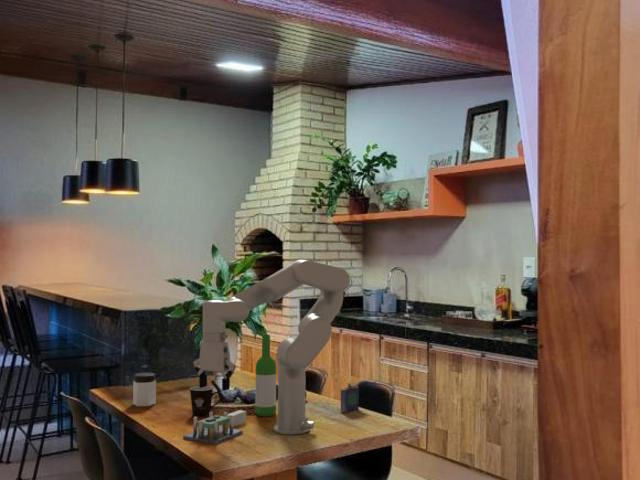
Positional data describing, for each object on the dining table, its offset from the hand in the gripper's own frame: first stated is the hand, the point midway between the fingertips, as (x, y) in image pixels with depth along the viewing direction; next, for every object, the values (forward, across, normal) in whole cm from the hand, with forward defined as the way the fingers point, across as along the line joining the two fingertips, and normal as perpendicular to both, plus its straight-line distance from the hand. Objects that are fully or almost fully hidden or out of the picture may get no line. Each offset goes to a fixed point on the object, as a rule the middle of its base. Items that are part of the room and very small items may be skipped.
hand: (214, 388), depth 215 cm
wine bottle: (+16, +2, -32) cm, 36 cm away
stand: (+16, +3, -15) cm, 22 cm away
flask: (+17, -23, -53) cm, 60 cm away
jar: (+16, +53, -20) cm, 59 cm away
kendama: (+17, +10, -60) cm, 63 cm away
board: (+12, 0, 0) cm, 12 cm away
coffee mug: (+16, +21, -19) cm, 33 cm away
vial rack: (+16, 0, 0) cm, 16 cm away
